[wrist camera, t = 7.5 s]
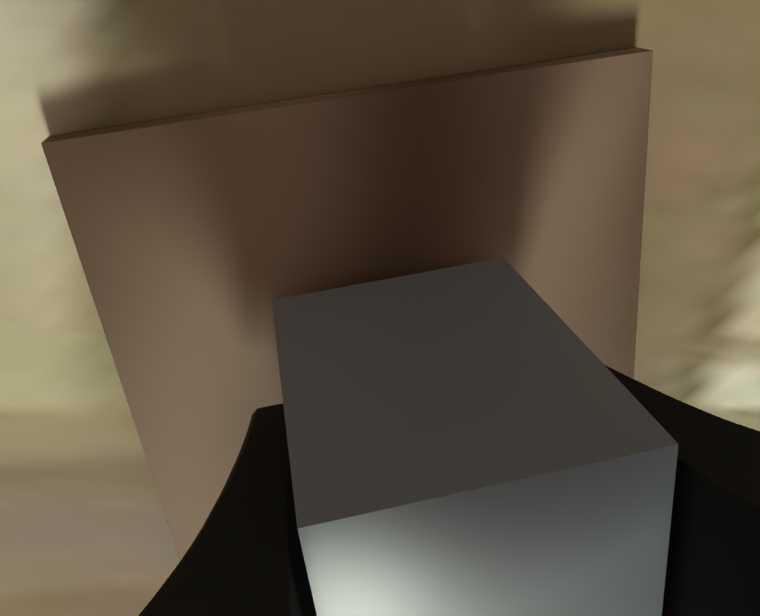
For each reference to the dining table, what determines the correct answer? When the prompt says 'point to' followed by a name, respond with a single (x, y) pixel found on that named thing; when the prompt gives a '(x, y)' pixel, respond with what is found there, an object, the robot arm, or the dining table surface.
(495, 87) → the post board
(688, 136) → the dining table surface
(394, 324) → the grey rectangular block
